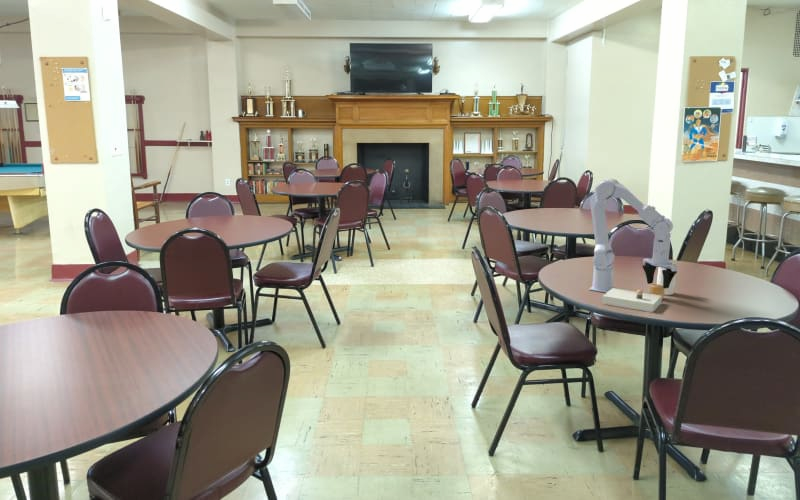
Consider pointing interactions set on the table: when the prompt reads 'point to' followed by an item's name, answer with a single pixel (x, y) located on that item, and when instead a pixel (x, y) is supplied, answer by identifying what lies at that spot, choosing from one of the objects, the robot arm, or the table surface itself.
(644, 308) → the junction box
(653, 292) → the cap
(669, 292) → the can
